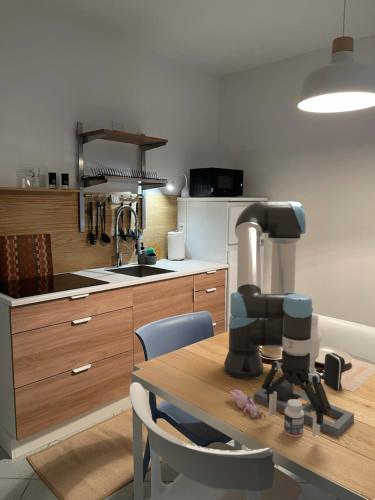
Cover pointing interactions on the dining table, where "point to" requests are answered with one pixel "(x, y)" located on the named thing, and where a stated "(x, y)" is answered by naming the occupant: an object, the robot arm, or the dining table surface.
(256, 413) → the rabbit figure
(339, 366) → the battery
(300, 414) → the pill bottle
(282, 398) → the gray rectangular open frame
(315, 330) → the water bottle
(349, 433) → the dining table surface
